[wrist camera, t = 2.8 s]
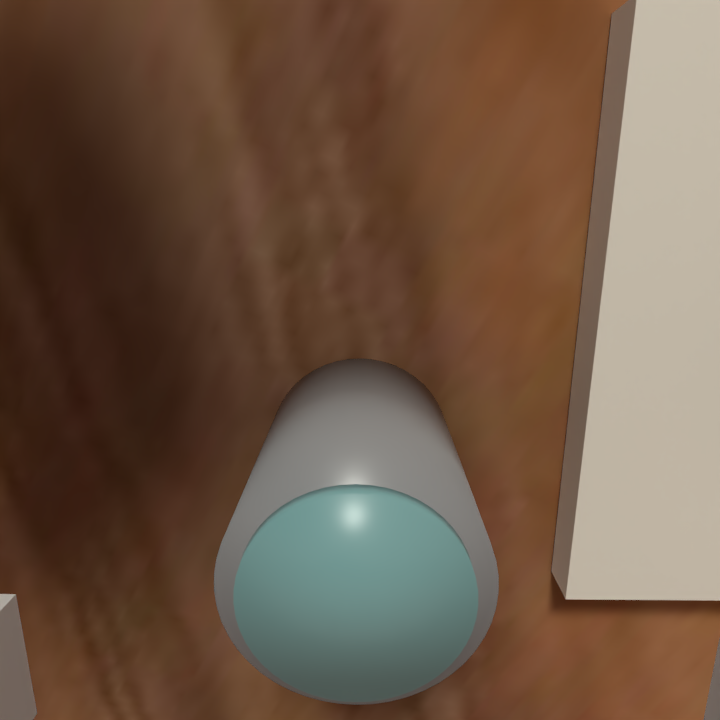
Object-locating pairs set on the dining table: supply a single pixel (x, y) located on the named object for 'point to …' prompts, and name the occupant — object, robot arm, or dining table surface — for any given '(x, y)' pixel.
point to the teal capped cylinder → (357, 543)
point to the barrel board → (649, 322)
